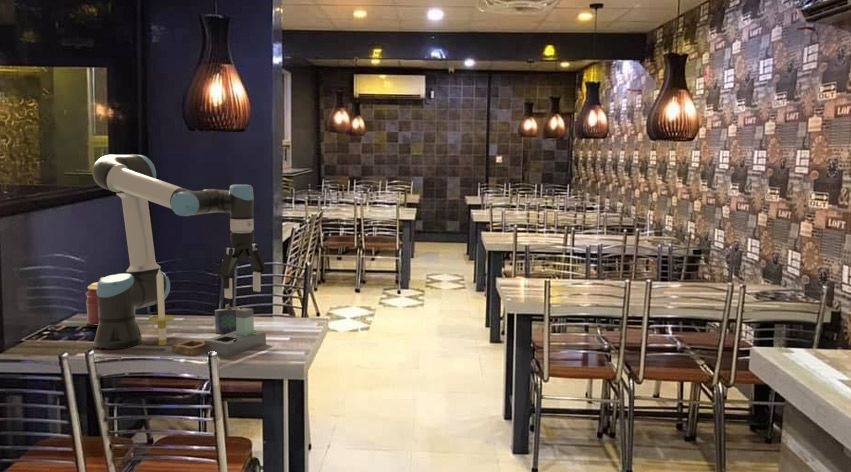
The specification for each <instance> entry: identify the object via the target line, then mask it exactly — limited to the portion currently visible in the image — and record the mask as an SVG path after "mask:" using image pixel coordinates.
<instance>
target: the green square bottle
mask: <svg viewBox="0 0 851 472" xmlns="http://www.w3.org/2000/svg"><path fill="white" fill-rule="evenodd" d="M254 326H255V323H254V308H250V307H249V308H247V307H242V308H240V309H238V310H236V333H237V335H243V336H247V335H250V334H252V333H254V330H255V327H254Z"/></svg>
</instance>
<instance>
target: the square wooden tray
mask: <svg viewBox="0 0 851 472" xmlns="http://www.w3.org/2000/svg"><path fill="white" fill-rule="evenodd" d="M171 352H172V353H174V354H175V353H176V354H181V355H187V356H193V357H194V356H195V355H198V354H199V355H200V354H202V353H205V342H204V340H201V339H194V338H192V339H191V338H190V339H188V340H185V341H182V342H179V343H175V344H172V345H171Z"/></svg>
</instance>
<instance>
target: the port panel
mask: <svg viewBox="0 0 851 472" xmlns="http://www.w3.org/2000/svg"><path fill="white" fill-rule="evenodd" d="M266 334H267V332H266V331H261V330H255V329H254V333H252V334H250V335H247V336H243V335H237V333H236V331H234V332H231V333H227V334H222V335H218V336H215V337H211V338H208V339H205V340H203V341H204V342H205V352H204V354H208V352H210V351H215V352H217V354H218V355H219V357H224V358H230V357H234V356H236V355H238V354H241V353H245V352H248V351H251V350H254V349H256V348H259V347H262V346H265V345H267V336H266ZM208 355H209V354H208ZM218 355H217V356H218Z"/></svg>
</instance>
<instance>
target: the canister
mask: <svg viewBox="0 0 851 472" xmlns="http://www.w3.org/2000/svg"><path fill="white" fill-rule="evenodd" d="M102 278H104V276H103V277H100V278H99V280H100V279H102ZM97 284H98V282H93V283H91V284H89V285H88V286H87V289H88V291H86V292H85V295H86V297H87V298H86V301H85V303H86V315H87V316H86V321H87V324H88V323H90V324H99V315H98V300H97Z"/></svg>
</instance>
